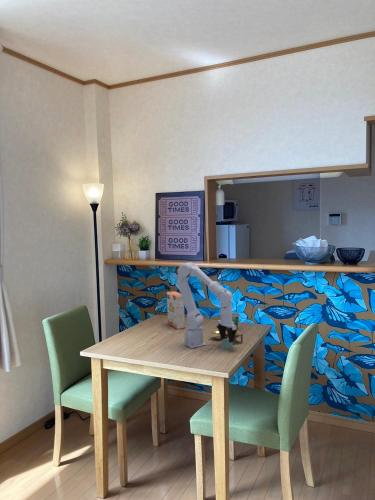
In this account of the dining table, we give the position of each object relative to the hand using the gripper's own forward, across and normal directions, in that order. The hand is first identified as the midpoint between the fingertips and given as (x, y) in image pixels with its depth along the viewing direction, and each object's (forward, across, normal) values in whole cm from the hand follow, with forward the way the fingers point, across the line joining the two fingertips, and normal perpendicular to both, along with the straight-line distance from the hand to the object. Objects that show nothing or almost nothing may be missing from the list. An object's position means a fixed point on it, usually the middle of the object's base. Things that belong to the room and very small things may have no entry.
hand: (227, 340), depth 212 cm
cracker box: (+4, +51, +4) cm, 51 cm away
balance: (+4, +15, -8) cm, 18 cm away
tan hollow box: (+4, +5, -8) cm, 10 cm away
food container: (+4, +27, -19) cm, 33 cm away
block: (+4, 0, 0) cm, 4 cm away
